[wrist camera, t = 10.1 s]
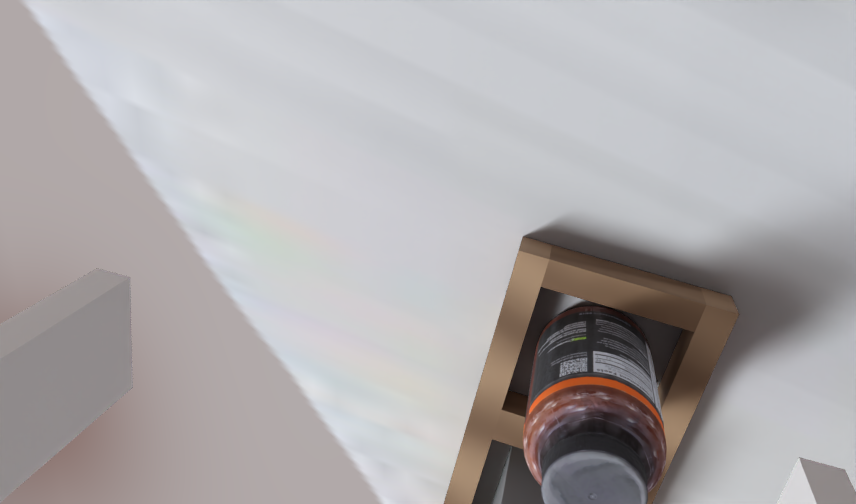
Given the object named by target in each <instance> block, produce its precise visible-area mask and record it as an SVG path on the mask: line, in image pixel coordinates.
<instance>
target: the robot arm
mask: <svg viewBox="0 0 856 504" xmlns="http://www.w3.org/2000/svg"><path fill="white" fill-rule="evenodd" d="M130 295H131V294H130V277H128V276H124V275H120V274H117V273H113V272H110V271H106V270H102V269H99V268H96V269H95V270H93V271H91V272H90V273H88V274H86V275H84V276H83V277H81V278H79V279H77V280H76V281H74V282H72V283H70V284H69V285H67V286H65V287H64V288H62V289H60V290H58V291H57V292H55V293H53V294H51V295H50V296H48V297H46V298H44V299H43V300H41V301H39V302H37V303H36V304H34V305H32V306H30V307H29V308H27V309H25V310H24V311H22V312H20V313H18V314H16V315H15V316H13V317H11V318H10V319H8V320H6V321H4V322H3V323H1V324H0V502H1V501H3V500H4V499H5V498H6V497H7V496H8V495H10V494H11V493H12V492H13V491H14V490H15V489H16V488H17V487H19V486H20V485H21V484H22V483H23V482H25V481H26V480H27V479H28V478H29V477H30V476H31V475H33V474H34V473H35V472H36V471H37V470H38V469H39V468H41V467H42V466H43V465H44V464H45V463H46V462H48V460H50V459H51V458H52V457H53V456H55V455H56V454H57V453H58V452H59V451H60V450H61V449H63V448H64V447H65V446H66V445H67V444H68V443H69V442H71V441H72V440H73V439H74V438H75V437H76V436H78V435H79V434H80V433H81V432H82V431H83V430H84V429H86V428H87V427H88V426H89V425H90V424H91V423H93V422H94V421H95V420H96V419H97V418H98V417H99V416H101V415H102V414H103V413H104V412H105V411H106V410H108V409H109V408H110V407H111V406H112V405H113V404H114V403H116V402H117V401H118V400H119V399H120V398H121V397H122V396H124V395H125V394H126V393H127V392H128V391H129V390H131V389H132V386H133V385H132V341H131V296H130ZM777 504H856V492H855V490H854V488H853V486H852V484H851V482H850V480H849V477H848V475H847V473H846V471H845V470H844V469H840V468H837V467H833V466H829V465H826V464H822V463H818V462H815V461H811V460H807V459H803V458H800V457H799V458H798V460H797V462H796V464H795V466H794V468H793V470H792V472H791V475H790V477H789V479H788V481H787V483H786V485H785V487H784V489H783V492H782V494H781V496H780V498H779V500H778V502H777Z"/></svg>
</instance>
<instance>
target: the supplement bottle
mask: <svg viewBox="0 0 856 504" xmlns="http://www.w3.org/2000/svg"><path fill="white" fill-rule="evenodd" d="M657 381H658V380H656V377H655V371H654V365H653V360H652V356H651V352H650V347H649V345H648V342H647V339H646V338H645V336H644V334H643V332H642V331H641V329H640V328H639V327H638V326H637V325H636V324H635V323H634V322H633V321H632V320H630V319H629V318H628V317H626V316H625V315H623V314H621V313H619V312H617V311H615V310H612V309H609V308H605V307H599V306H585V307H577V308H574V309H570V310H568V311H566V312H564V313H562V314H560V315H558V316H557V317H555V318H554V319H553V320H551V321H550V322H549V323H548V325H547V326H546V327H545V328H544V330H543V331H542V333H541V335H540V337H539V339H538V342H537V346H536V350H535V355H534V361H533V368H532V375H531V382H530V389H529V396H528V402H527V409H526V416H525V423H524V432H523V450H524V456H525V459H526V462H527V465H528V467H529V470H530V471H531V473H532V475H533V477H534V478H535V480H536V481H537V482H538V483H539V484H540V485H541V492H542V497H543V501H544V503H545V504H647V501H648V492H650V491H651V490H652V489H653V488H654V487H655V485H657V483H658V481H659V480H660V478H661V476H662V473H663V471H664V468H665V464H666V453H667V450H666V449H667V447H666V439H665V433H664V423H663V417H662V412H661V406H660V400H659V395H658V389H657Z"/></svg>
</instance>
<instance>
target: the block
mask: <svg viewBox="0 0 856 504" xmlns="http://www.w3.org/2000/svg"><path fill="white" fill-rule="evenodd" d="M492 504H545V503H544V501H543V497H542V492H541V485H540V484H539V483H538V482H537V481H536V480H535V478H534V477H533V475H532V473H531V471H530V470H529V467H528V465H527V462H526V459H525V456H524V450H523V449H520V448H517V447H514V446H511V448H510V451H509V454H508V457H507V460H506V463H505V466H504V469H503V472H502V475H501V478H500V481H499V484H498V487H497V490H496V493H495V496H494V499H493V502H492Z"/></svg>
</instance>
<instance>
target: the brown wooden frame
mask: <svg viewBox="0 0 856 504" xmlns="http://www.w3.org/2000/svg"><path fill="white" fill-rule="evenodd" d="M540 287H543V288H547V289H550V290H554V291H557V292H560V293H564V294H567V295H571V296H574V297H577V298H581V299H584V300H587V301H591V302H594V303H598V304H601V305H604V306H608V307H611V308H615V309H618V310H621V311H625V312H628V313H632V314H635V315H638V316H642V317H645V318H649V319H652V320H655V321H659V322H662V323H665V324H669V325H672V326H676V327H679V328H682V329H683V330H682V333H681V335H680V337H679V340H678V342H677V344H676V347H675V349H674V351H673V354H672V356H671V358H670V361H669V363H668V366H667V368H666V370H665V373H664V375H663V377H662V380H661V382H660V384H659V387H658V395H659V400H660V406H661V412H662V417H663V423H664V433H665V439H666V447H667V449H666V450H667V453H666V464H665V468H664V471H663V473H662V476H661V478H660V480H659V481H658V483H657V485H655V487H654V488H653V489H652V490H651V491H650V492H648V501H647V504H652V503H653V501H654V498H655V496H656V494H657V492H658V490H659V487H660V485H661V483H662V481H663V479H664V477H665V474H666V472H667V470H668V468H669V466H670V464H671V461H672V459H673V457H674V455H675V453H676V450H677V448H678V446H679V444H680V442H681V440H682V437H683V435H684V433H685V431H686V429H687V427H688V424H689V422H690V420H691V418H692V416H693V414H694V411H695V409H696V407H697V405H698V403H699V400H700V398H701V396H702V394H703V392H704V390H705V387H706V385H707V383H708V381H709V379H710V377H711V374H712V372H713V370H714V368H715V366H716V363H717V361H718V359H719V357H720V355H721V353H722V350H723V348H724V346H725V344H726V342H727V340H728V337H729V335H730V333H731V331H732V329H733V326H734V324H735V322H736V320H737V318H738V316H739V313H738V311H737V308H736V306H735V303H734V301H733V299H732V296H729V295H725V294H722V293H718V292H715V291H711V290H708V289H704V288H701V287H698V286H694V285H691V284H687V283H684V282H680V281H677V280H673V279H670V278H666V277H663V276H659V275H656V274H652V273H649V272H645V271H642V270H638V269H635V268H631V267H628V266H624V265H621V264H617V263H614V262H610V261H607V260H603V259H600V258H596V257H593V256H589V255H586V254H583V253H579V252H576V251H572V250H569V249H565V248H562V247H558V246H555V245H551V244H548V243H544V242H541V241H537V240H534V239H530V238H527V237H523V238H522V241H521V245H520V248H519V252H518V255H517V258H516V262H515V265H514V268H513V272H512V275H511V279H510V282H509V285H508V289H507V292H506V295H505V299H504V302H503V306H502V309H501V312H500V316H499V319H498V322H497V326H496V329H495V333H494V336H493V339H492V343H491V346H490V349H489V353H488V356H487V360H486V363H485V366H484V370H483V373H482V376H481V380H480V383H479V387H478V390H477V393H476V397H475V400H474V403H473V407H472V410H471V414H470V417H469V420H468V424H467V427H466V430H465V434H464V437H463V441H462V444H461V447H460V451H459V454H458V457H457V461H456V464H455V467H454V471H453V474H452V478H451V481H450V484H449V488H448V491H447V494H446V498H445V501H444V504H472V501H473V498H474V495H475V492H476V488H477V485H478V482H479V479H480V476H481V473H482V470H483V466H484V463H485V460H486V457H487V454H488V451H489V448H490V444H491V441H492V439H493V440H496V441H499V442H502V443H505V444H508V445H511V446H514V447H517V448H520V449H523V432H524V423H525V416H526V409H527V402H528V396H525V395H522V394H519V393H516V392H512V391H509V390H508V388H509V385H510V382H511V378H512V375H513V372H514V369H515V366H516V363H517V360H518V356H519V353H520V350H521V347H522V344H523V341H524V338H525V334H526V331H527V328H528V325H529V322H530V319H531V316H532V312H533V309H534V306H535V303H536V300H537V297H538V294H539V290H540Z"/></svg>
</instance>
